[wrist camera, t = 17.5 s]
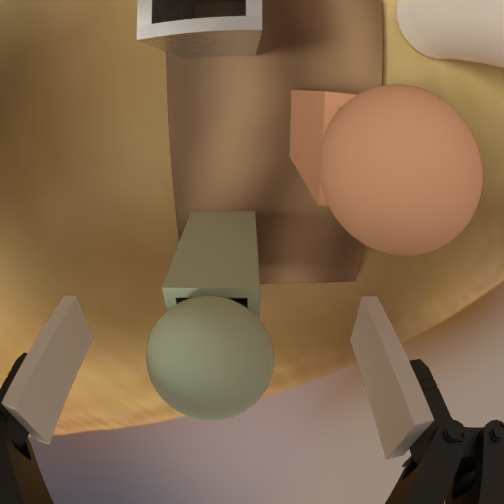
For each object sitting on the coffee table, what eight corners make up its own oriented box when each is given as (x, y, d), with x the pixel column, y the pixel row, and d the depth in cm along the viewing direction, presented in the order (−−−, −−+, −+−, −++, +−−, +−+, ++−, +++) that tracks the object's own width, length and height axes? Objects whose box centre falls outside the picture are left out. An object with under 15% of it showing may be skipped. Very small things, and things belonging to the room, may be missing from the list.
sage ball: (169, 352, 15) (152, 436, 11) (150, 271, 13) (114, 361, 8) (267, 353, 15) (274, 440, 11) (271, 270, 13) (284, 366, 8)
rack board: (187, 274, 23) (184, 283, 22) (171, -9, 13) (167, -14, 12) (351, 272, 23) (356, 281, 22) (374, 0, 13) (381, -4, 12)
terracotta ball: (300, 213, 11) (334, 296, 7) (306, 76, 9) (359, 66, 5) (416, 216, 12) (486, 285, 7) (432, 96, 9) (528, 117, 5)
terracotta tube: (289, 156, 18) (318, 205, 11) (291, 89, 16) (324, 91, 9) (353, 159, 18) (415, 209, 11) (358, 95, 16) (429, 107, 9)
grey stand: (183, 59, 15) (136, 40, 8) (184, -2, 13) (141, -55, 6) (255, 55, 15) (262, 30, 8) (255, -6, 13) (261, -67, 6)
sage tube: (196, 265, 21) (176, 353, 14) (191, 211, 19) (161, 287, 12) (254, 265, 21) (258, 354, 14) (255, 211, 19) (260, 287, 12)
